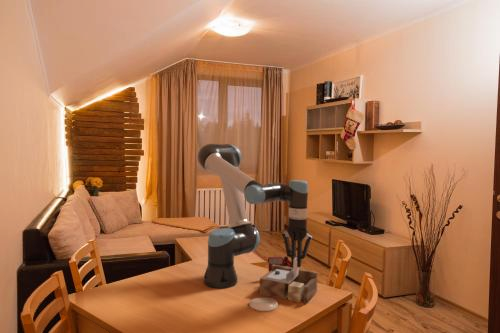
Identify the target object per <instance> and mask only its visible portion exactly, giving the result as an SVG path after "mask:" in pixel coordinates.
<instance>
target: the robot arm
mask: <svg viewBox="0 0 500 333" xmlns="http://www.w3.org/2000/svg"><path fill="white" fill-rule="evenodd" d="M242 160H243V159H242V152H241V150H240V149H239V147H237V146H235V144H234V145H233V144H229V143H222V144H221V143H220V144H219V143H207V144H205V145H203V146H202V147H201V148H200V149H199V151H198V153H197V161H198V164H199V165H200V166H201V168H203V169H204V170H205V171H207V172H209V173H214V175H216V176H218V177H219V179H220V183H221V187H222V191H223V196H224V202H225V205H226V206H225V207H226V210H227V215H228V219H229V220H228V221H229V225H228V227H223V228H217V229H213V230H212V231H210V232H209V234H208V240H207V266H206V269H205V272H204V275H203V284H204V285H205V286H207V287H210V288H212V289H213V288H215V289H216V288H217V289H227V288H231V287H234V286H235V285H237V283H238V275H237V271H236V268H235V257H236V256H240V255H245V254H250V253H251V252H254V251H256V250H257V248H258V247H259V245H260V241H261V236H260V233H259V231H258V229H257V228H256V227H254V226H253V224H252V221H250V220H249V219H248V216H247V215H248V214H247V211H246V206H245V201H246V202H247V203H248V204H249V205H259V204H265V203H274V202H286V203H288V217H289V218H288V226H287V227H288V228H287V230H286V231H284V232H282V233H281V236H282V238H283V241H284V247H285V251H286V256H287V257H288V258H290V259H291V260H290V261H291V266H293V275H296V276H297V275H298V274H299V269H300V268H301V266H302V260H304V259H305V258H306V257H307V254H308V252H309V251H308V250H309V247H310V243H311V241H312V239H313V238H314V236H313V235H311V234H309V232H308V228H307V227H308V220H307V218H308V196H309V186H308V185H309V184H308V182H307V181H306V180H303V179H301V180H300V179H291V180H290V181H289V184H287V183H281V182H276V181H275V182H269V183H264V184H262V183H260V182H259V181H257V180H256V179H254V178H252V177H251V176H250V175H249V174H246V173H245V172H244V171H243V170H241V169H240V167H239V166H240V165H241V163H242ZM243 195H244V198H243ZM244 199H245V201H244ZM289 238H290V239H289ZM304 239H305V241H304V242H305V243H304V246H303V240H304ZM290 242H291V243H290Z"/></svg>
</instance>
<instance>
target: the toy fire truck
mask: <svg viewBox="0 0 500 333" xmlns="http://www.w3.org/2000/svg"><path fill="white" fill-rule="evenodd" d="M267 262H268V272H269V271H271V270H272V265H279V266H285V267H291V268H293V266H291V260H290V259H289V257H288V256H287V255H285V256H268V257H267Z"/></svg>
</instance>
